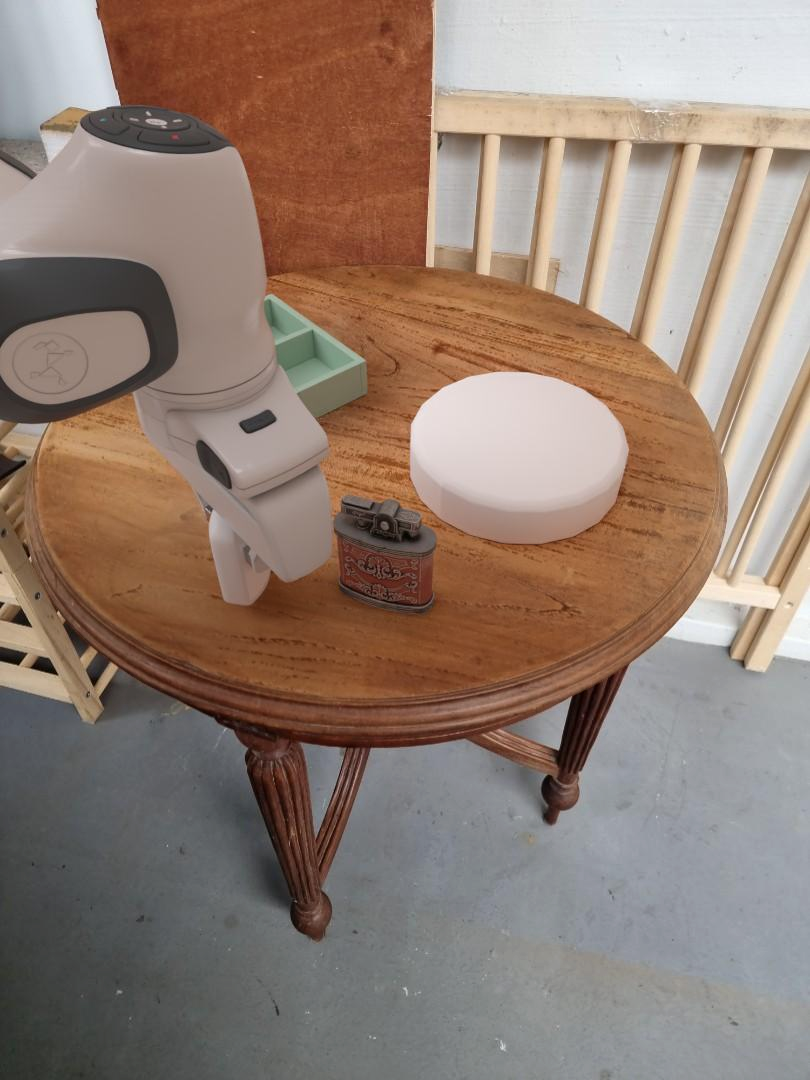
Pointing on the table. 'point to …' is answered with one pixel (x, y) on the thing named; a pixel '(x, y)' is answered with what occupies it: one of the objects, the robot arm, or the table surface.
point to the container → (517, 457)
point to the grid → (314, 360)
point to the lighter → (385, 555)
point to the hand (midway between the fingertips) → (240, 541)
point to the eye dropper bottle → (234, 565)
